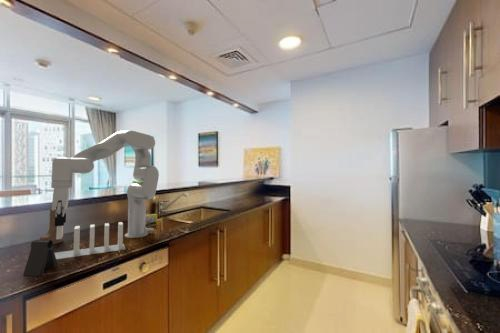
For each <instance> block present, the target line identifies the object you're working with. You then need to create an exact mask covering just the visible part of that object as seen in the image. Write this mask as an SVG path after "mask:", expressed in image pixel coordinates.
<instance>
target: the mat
mask: <svg viewBox="0 0 500 333" xmlns="http://www.w3.org/2000/svg"><path fill="white" fill-rule="evenodd" d="M123 250H126V247H125V244H124V243H123V248H122V249H118V244H111V245H110V244H109V250H108V251H104V245H103V246H97V247H95V246H94V253H89V247H87V248H81V249H80V248H79V254H78V255H73V253H74V249H71V250H64V251H58V252H54V253H55V257H56V260H62V259H67V258H68V259H69V258H75V257H81V256H89V255H95V254H96V255H97V254H102V253H109V252H116V251H123Z"/></svg>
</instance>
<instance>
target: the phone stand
mask: <svg viewBox="0 0 500 333" xmlns="http://www.w3.org/2000/svg"><path fill="white" fill-rule="evenodd" d="M53 245H54V244H53V241H52V240H40V239H35V240H32V241H31V243H30V252H29V255H28V258H27V261H26V264H25V268H24V271H23V274H22V276H30V277H42V276H44V275H45V274H46V272H45V268H56V267H58V266H59V265H58V261H57V260H58V259H56V257H55V253H56V252H55V251H54V246H53ZM43 274H44V275H43ZM41 275H42V276H41Z"/></svg>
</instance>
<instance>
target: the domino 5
mask: <svg viewBox="0 0 500 333" xmlns="http://www.w3.org/2000/svg"><path fill="white" fill-rule="evenodd" d="M123 244H124V223H123V222H122V221H119V222H118V223H117V245H118V249H122V248H123Z"/></svg>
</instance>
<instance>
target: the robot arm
mask: <svg viewBox="0 0 500 333" xmlns="http://www.w3.org/2000/svg"><path fill="white" fill-rule="evenodd" d="M155 145H156V140H155V137H154V136H152V135H150V134H147V133H143V132H139V131H137V130H136V131H134V130H129V129H127V130H119V131H116V132H115V133H113V134H111V135H110V136H108V137H106V138H105V139H103V140H102V141H100V142H99V143H96V144H94V145H92V146H90V147H88V148H86V149H82V151H79V152H78V153H76V154H74V155H73V156H71V157H59V156H58V157H54V158H52V164H51V165H52V166H51V183H50V184H51V187H50V188H51V189H53V190H52V191H53V192H52V204H51V209H52V210H53V211H54V210H55V209H56V215H55V226H63V225H64V226H65V223H66V222H67V212H66V210H67V208H68V205H69V196H70V195H69V194H70V189H72V188H73V179H74V178H73V174H79V175H80V174H82V175H84V174H88V173H91V172H92V171H93V170H94V169H95V165H94V164H95V163H94V162H97V161H100V160H104V159H107V158H110V157H112V156H113V155H115V154H116V153H117V152H119V151H120V150H121V149H124V147H131V149H132V150H133V151H134V154H135V163H134V168H133V172H132V177H133V178H134V180H136V181H142V182H133V183H130V184H129V185H128V187H127V189H126V195H127V200H128V201H127V204H128V207H127V208H128V209H127V232H126V233H125V234H124V237H125V238H126V239H127V238H129V239H135V238H136V239H139V238H143V237H147V236H148V234H149V232H154V230H155V228H154V227H145V220H146V215H147V214H146V213H147V211H146V210H147V204H146V201H149V200H151V199H153V198H154V197H155V196H156V192H157V187H158V183H159V176H160V174H159V170H158V168H157V167H156V166H155V165H151V162H152V156H151V153H150V150H152V149H154V147H155Z"/></svg>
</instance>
